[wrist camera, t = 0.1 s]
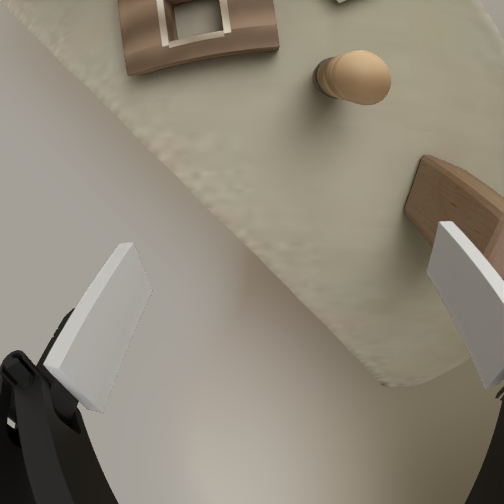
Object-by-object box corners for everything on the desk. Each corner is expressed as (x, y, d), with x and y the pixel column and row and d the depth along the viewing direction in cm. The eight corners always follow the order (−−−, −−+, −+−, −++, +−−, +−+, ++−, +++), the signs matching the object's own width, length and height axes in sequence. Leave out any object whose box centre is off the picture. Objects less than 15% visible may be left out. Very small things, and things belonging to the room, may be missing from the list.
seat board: (129, -19, 21) (116, -26, 18) (262, -49, 20) (261, -62, 16) (140, 75, 30) (127, 75, 27) (278, 50, 28) (279, 46, 25)
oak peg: (307, 59, 29) (331, 47, 17) (346, 60, 28) (389, 52, 17) (311, 96, 32) (336, 105, 20) (349, 96, 31) (392, 107, 19)
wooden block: (400, 211, 39) (464, 299, 23) (420, 151, 34) (509, 215, 17) (445, 223, 40) (510, 304, 23) (466, 170, 34) (549, 235, 18)
